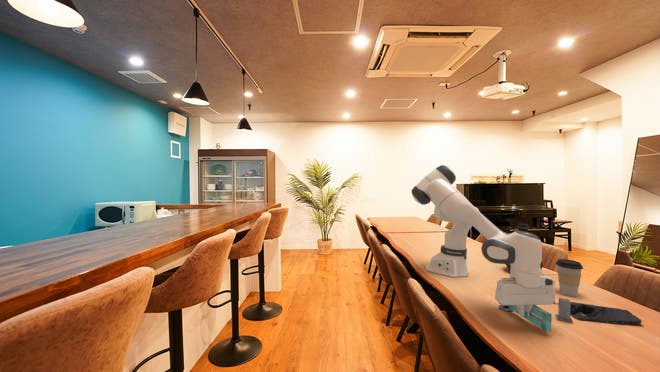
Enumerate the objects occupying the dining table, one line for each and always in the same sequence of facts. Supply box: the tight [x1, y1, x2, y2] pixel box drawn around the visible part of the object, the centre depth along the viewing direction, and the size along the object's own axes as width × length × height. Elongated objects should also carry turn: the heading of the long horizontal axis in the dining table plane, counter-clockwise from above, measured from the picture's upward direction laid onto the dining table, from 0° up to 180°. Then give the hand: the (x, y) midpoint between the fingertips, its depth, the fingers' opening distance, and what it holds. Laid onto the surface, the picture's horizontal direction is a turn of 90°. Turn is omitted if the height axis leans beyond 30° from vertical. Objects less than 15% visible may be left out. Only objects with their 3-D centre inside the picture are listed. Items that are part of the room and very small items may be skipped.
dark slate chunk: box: [556, 301, 642, 325], centre depth 102 cm, size 15×22×5 cm
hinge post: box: [498, 304, 514, 313], centre depth 105 cm, size 5×5×10 cm
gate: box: [509, 305, 553, 333], centre depth 95 cm, size 16×2×6 cm, turn 5°
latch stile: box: [555, 297, 574, 324], centre depth 98 cm, size 4×4×8 cm
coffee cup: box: [555, 258, 584, 297], centre depth 120 cm, size 9×9×15 cm
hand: (523, 315), depth 93 cm, fingers closed
